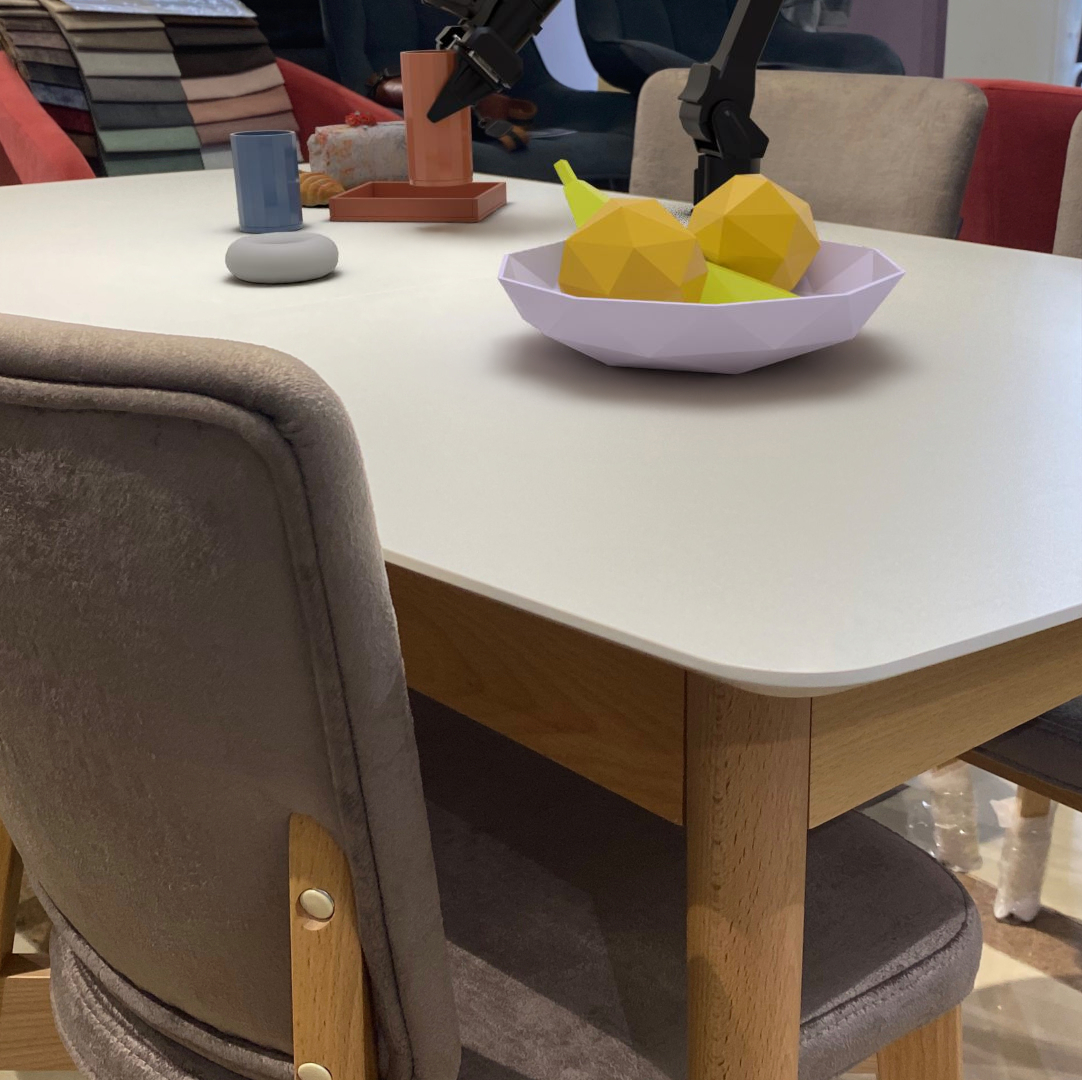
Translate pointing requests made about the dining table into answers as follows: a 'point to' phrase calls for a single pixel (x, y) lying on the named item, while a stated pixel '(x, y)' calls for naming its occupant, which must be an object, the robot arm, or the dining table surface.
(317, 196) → the pastry
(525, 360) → the dining table surface
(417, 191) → the tray
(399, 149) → the food item
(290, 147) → the slate cup
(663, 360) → the fruit bowl
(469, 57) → the robot arm
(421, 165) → the terracotta cup
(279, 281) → the donut
